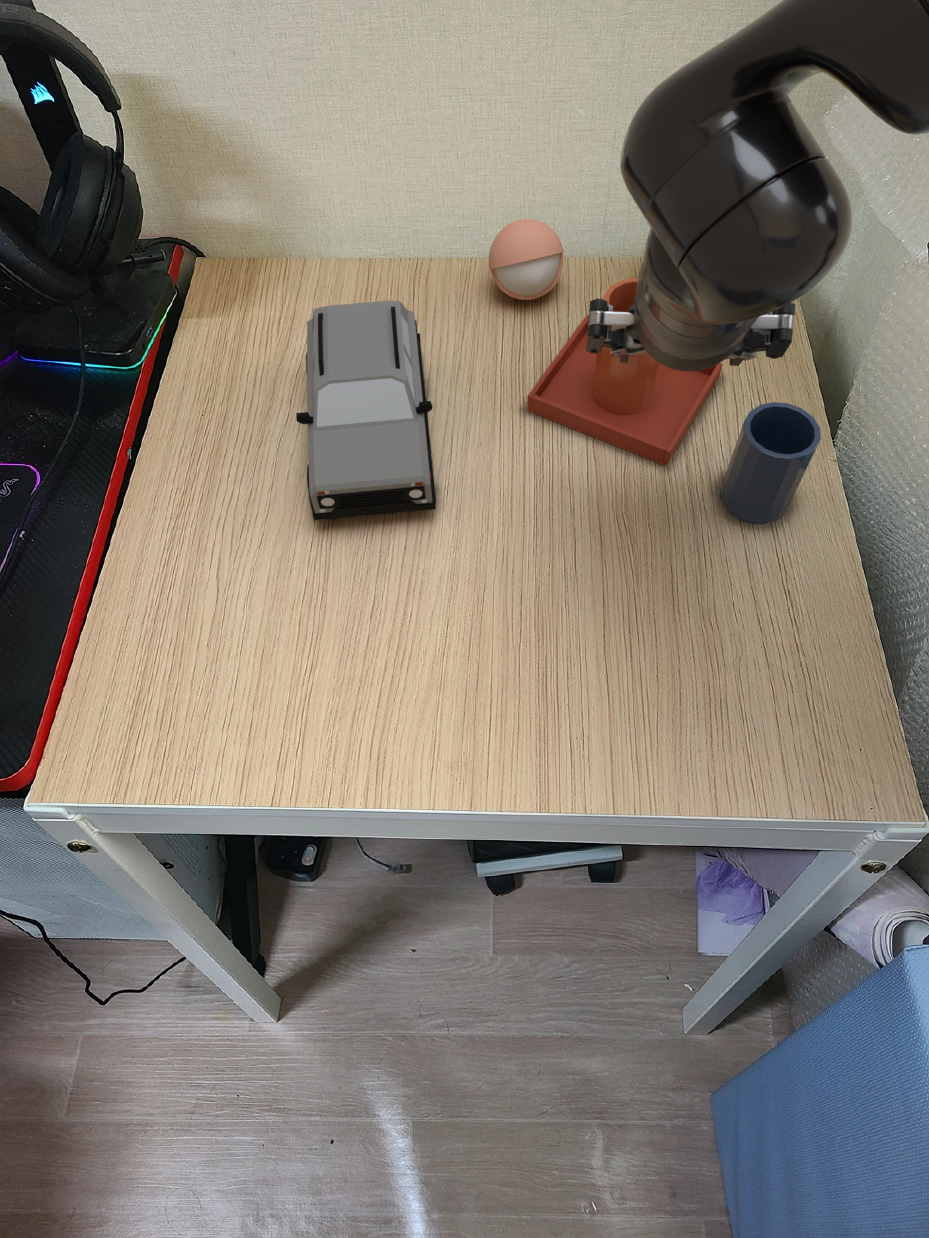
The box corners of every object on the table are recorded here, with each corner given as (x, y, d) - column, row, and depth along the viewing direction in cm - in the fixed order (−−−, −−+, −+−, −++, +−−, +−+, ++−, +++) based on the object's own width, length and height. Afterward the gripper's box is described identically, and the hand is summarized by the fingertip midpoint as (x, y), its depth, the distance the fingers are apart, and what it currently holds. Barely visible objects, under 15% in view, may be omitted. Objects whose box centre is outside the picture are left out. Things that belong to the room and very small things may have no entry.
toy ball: (499, 321, 93) (500, 257, 86) (480, 275, 97) (479, 211, 90) (570, 306, 94) (577, 242, 87) (548, 261, 98) (552, 196, 91)
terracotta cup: (664, 382, 87) (685, 291, 78) (638, 423, 84) (656, 334, 75) (608, 361, 89) (621, 270, 79) (581, 400, 86) (592, 311, 77)
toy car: (311, 533, 80) (288, 460, 71) (309, 366, 90) (290, 285, 82) (443, 520, 80) (437, 447, 71) (426, 355, 91) (419, 274, 82)
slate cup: (798, 486, 81) (830, 418, 73) (774, 534, 78) (805, 468, 70) (734, 461, 82) (759, 392, 75) (709, 507, 80) (733, 440, 72)
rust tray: (718, 379, 88) (723, 364, 86) (666, 466, 82) (670, 452, 81) (584, 330, 92) (586, 315, 90) (526, 410, 86) (527, 395, 85)
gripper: (826, 233, 52) (776, 304, 68) (585, 232, 54) (592, 301, 70) (813, 362, 52) (767, 402, 68) (576, 355, 55) (585, 396, 71)
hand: (679, 351), depth 69 cm, fingers open, 8 cm apart
